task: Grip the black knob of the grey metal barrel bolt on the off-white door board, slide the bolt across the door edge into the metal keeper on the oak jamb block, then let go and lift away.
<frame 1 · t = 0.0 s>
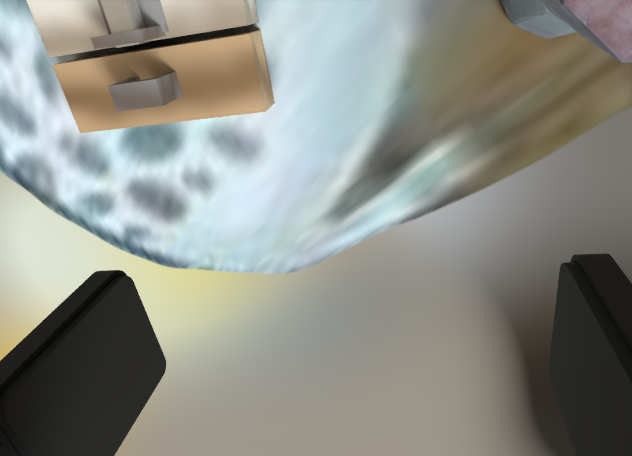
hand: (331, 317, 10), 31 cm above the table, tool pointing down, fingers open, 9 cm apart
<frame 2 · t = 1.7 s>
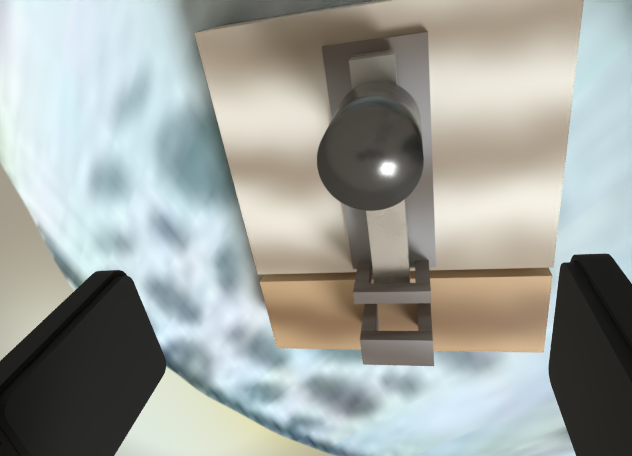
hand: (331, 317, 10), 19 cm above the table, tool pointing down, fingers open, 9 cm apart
bolt: (381, 206, 21), point 7 cm above the table, slide at 0.0 cm
lock board: (392, 206, 29), on the table
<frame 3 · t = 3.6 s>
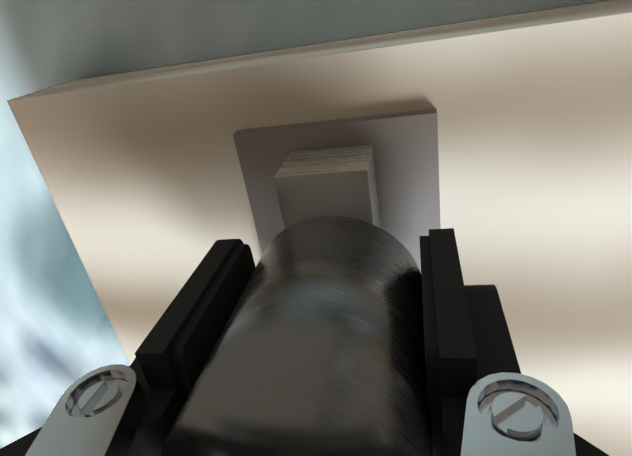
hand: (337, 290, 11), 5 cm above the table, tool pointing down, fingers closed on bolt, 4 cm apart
bolt: (347, 449, 11), point 7 cm above the table, slide at 0.0 cm, touching gripper
lock board: (377, 350, 18), on the table
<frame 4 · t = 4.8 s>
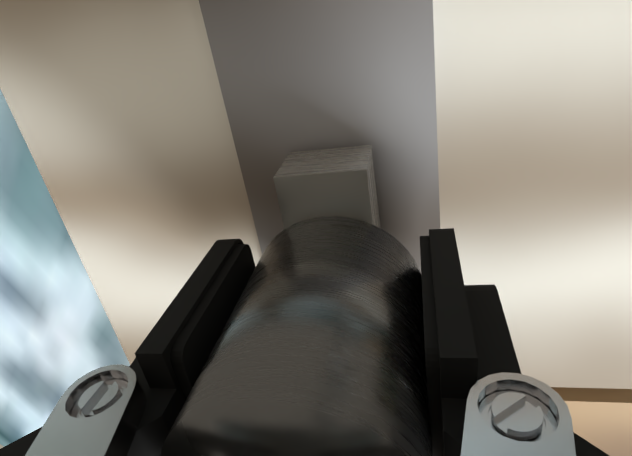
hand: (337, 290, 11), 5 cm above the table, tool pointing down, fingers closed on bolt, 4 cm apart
bolt: (348, 449, 11), point 7 cm above the table, slide at 4.4 cm, touching gripper
lock board: (366, 260, 16), on the table
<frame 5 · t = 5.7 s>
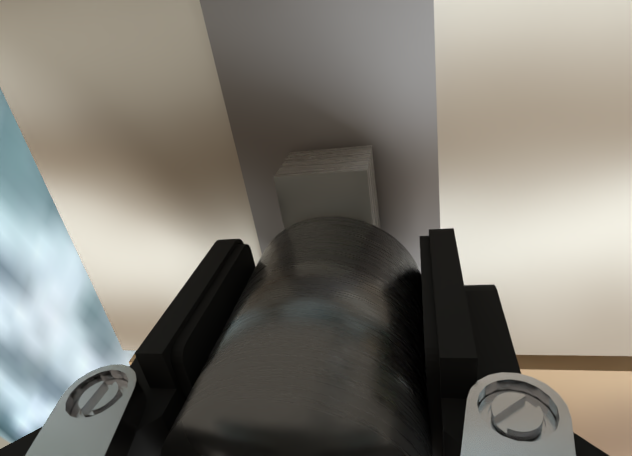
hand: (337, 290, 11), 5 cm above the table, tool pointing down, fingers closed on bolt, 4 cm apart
bolt: (347, 449, 11), point 7 cm above the table, slide at 5.8 cm, touching gripper
lock board: (362, 228, 16), on the table
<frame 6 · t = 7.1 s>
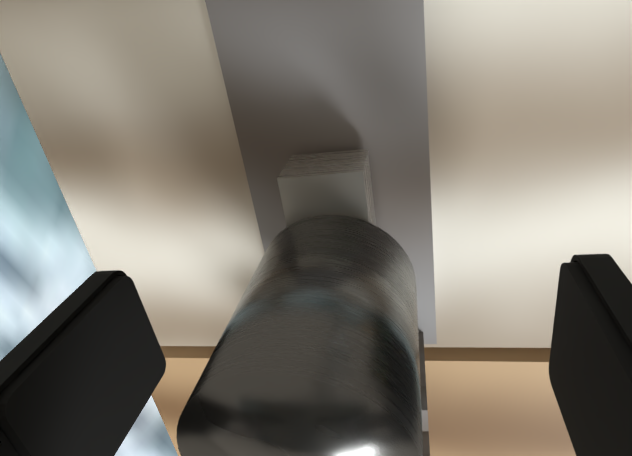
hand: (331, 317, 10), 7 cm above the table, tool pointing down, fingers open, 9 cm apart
bolt: (345, 434, 12), point 7 cm above the table, slide at 5.8 cm
lock board: (359, 228, 17), on the table
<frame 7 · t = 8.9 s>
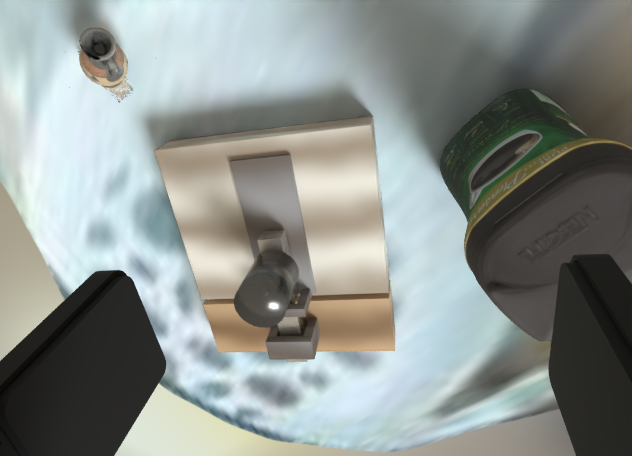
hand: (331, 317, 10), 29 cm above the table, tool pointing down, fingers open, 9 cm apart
vase: (125, 55, 37), on the table
coffee jar: (504, 149, 36), on the table
bolt: (279, 316, 38), point 7 cm above the table, slide at 5.8 cm
lock board: (291, 252, 43), on the table
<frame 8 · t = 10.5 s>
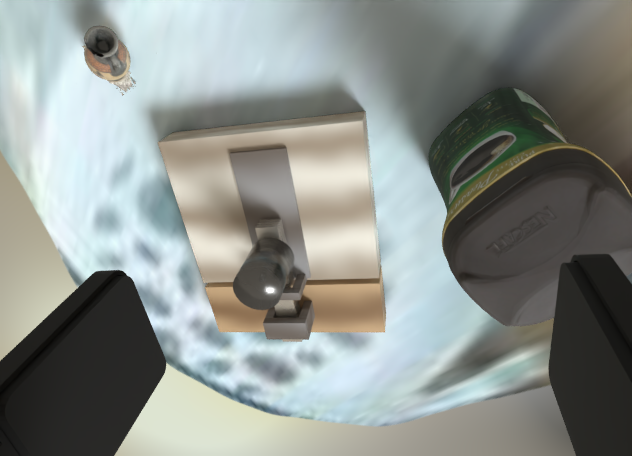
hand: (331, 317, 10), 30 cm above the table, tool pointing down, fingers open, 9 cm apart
vase: (128, 49, 39), on the table
coffee jar: (489, 144, 38), on the table
bolt: (275, 299, 40), point 7 cm above the table, slide at 5.8 cm
lock board: (288, 238, 45), on the table
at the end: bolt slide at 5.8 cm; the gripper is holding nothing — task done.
